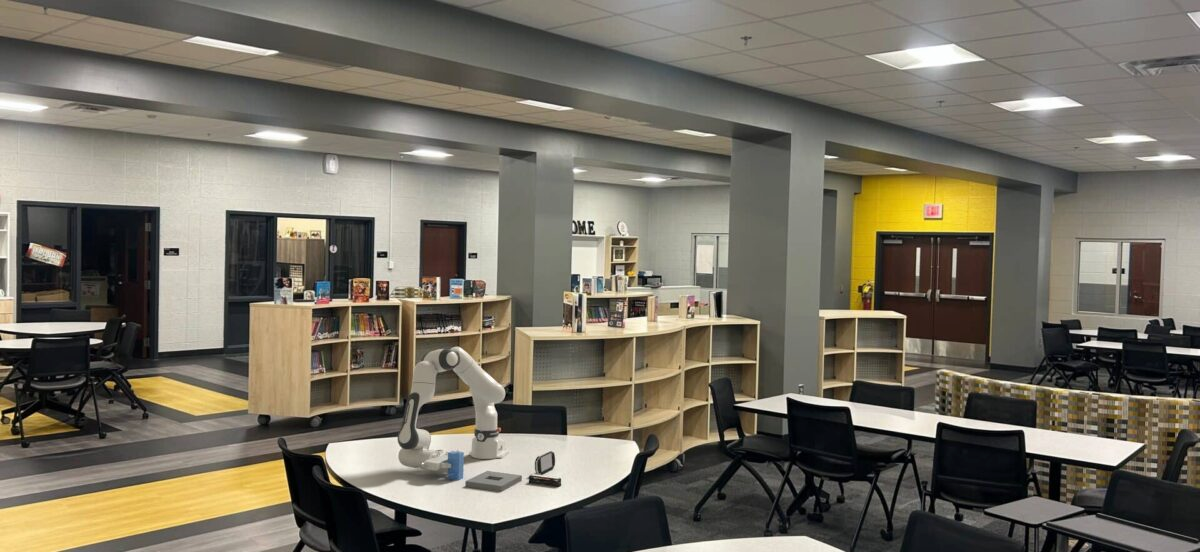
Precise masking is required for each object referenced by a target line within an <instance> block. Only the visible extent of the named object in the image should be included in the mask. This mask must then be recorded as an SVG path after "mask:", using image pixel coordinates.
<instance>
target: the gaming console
mask: <svg viewBox="0 0 1200 552" xmlns="http://www.w3.org/2000/svg"><path fill="white" fill-rule="evenodd" d="M555 466H556V455H555V452H554V451H551V450H550V451H546V452H545V453H544V452H543V453H542V454H540V455H538V456H536V458H535V460H534V471H535V474H536V475H545V474H547V473H549V472H551V471H552V470H554V468H555Z"/></svg>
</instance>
